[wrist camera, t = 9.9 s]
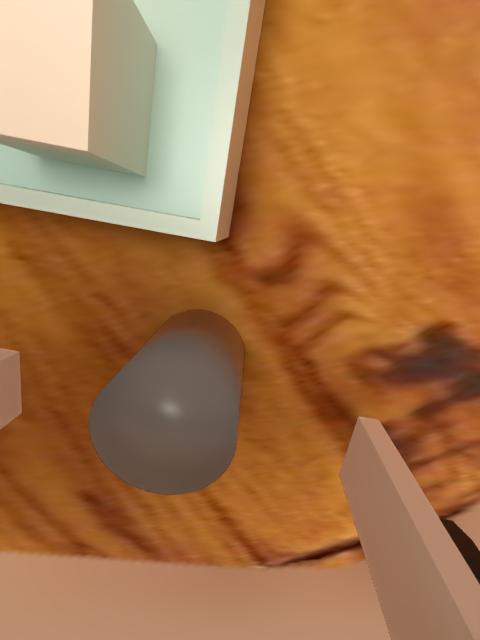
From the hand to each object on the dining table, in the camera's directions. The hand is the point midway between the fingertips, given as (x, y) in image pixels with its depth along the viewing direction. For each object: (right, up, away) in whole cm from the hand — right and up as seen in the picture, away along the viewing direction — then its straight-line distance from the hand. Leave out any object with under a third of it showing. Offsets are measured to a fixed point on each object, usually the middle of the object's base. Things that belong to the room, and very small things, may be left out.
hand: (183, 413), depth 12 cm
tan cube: (-4, +13, +1) cm, 14 cm away
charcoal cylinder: (0, +2, +5) cm, 5 cm away
